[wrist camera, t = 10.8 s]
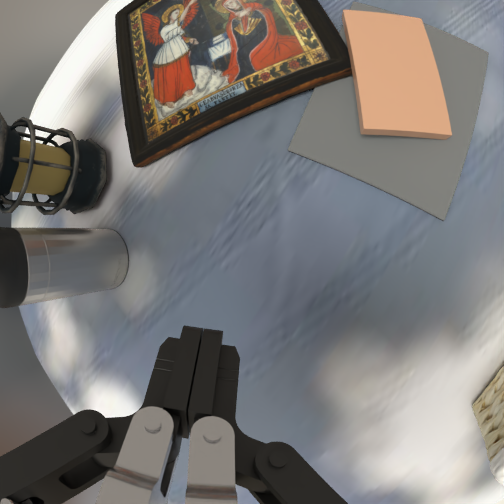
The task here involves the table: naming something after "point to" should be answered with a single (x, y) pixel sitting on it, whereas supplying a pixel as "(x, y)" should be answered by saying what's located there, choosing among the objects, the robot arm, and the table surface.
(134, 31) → the religious icon
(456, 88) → the mat
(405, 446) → the table surface
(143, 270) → the table surface
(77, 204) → the lantern
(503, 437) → the storage basket
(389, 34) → the tile
